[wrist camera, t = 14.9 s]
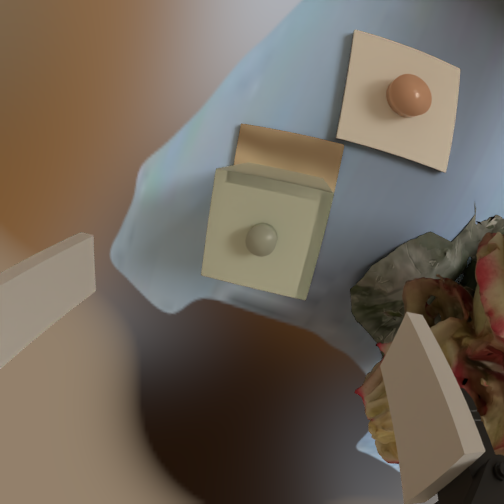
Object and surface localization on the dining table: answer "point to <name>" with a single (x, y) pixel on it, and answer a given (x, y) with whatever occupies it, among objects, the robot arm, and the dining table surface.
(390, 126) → the cream plate
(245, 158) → the tan mat
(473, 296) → the rose bouquet
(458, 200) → the dining table surface
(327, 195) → the sage cover
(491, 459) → the robot arm
